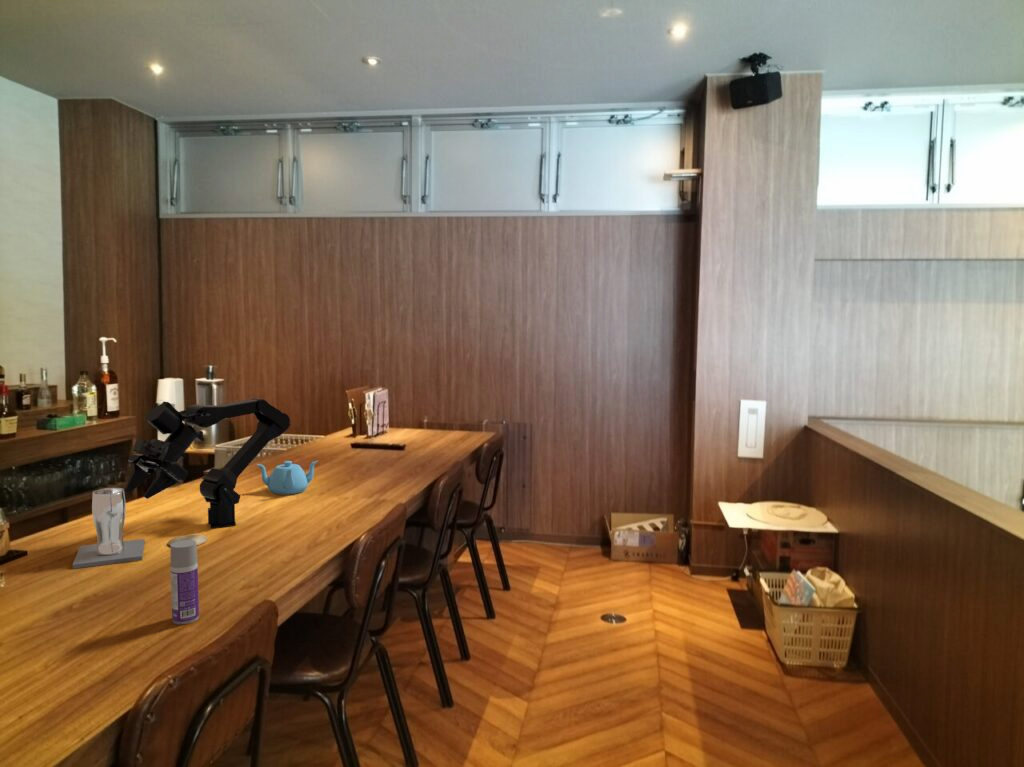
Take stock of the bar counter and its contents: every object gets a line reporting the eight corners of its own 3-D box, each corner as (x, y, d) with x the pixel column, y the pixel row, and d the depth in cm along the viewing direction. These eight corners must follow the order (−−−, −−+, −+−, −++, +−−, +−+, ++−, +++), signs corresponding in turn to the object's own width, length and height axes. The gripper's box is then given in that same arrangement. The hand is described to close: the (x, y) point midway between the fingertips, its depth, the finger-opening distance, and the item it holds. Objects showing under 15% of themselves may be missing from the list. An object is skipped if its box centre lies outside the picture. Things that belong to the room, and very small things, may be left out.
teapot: (288, 484, 236) (287, 455, 235) (321, 489, 230) (321, 459, 229) (256, 493, 223) (255, 463, 222) (290, 499, 216) (289, 467, 215)
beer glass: (86, 554, 160) (84, 493, 159) (111, 545, 167) (108, 486, 165) (110, 557, 158) (108, 495, 157) (133, 548, 165) (131, 488, 163)
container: (203, 613, 131) (201, 539, 130) (192, 624, 127) (190, 547, 125) (179, 613, 131) (176, 539, 130) (167, 624, 127) (165, 547, 125)
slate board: (144, 542, 172) (144, 538, 172) (142, 560, 160) (142, 556, 160) (80, 549, 166) (80, 546, 166) (72, 568, 153) (72, 564, 153)
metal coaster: (206, 534, 179) (206, 533, 179) (207, 545, 171) (207, 543, 171) (168, 539, 175) (168, 537, 175) (168, 549, 167) (168, 547, 167)
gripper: (134, 423, 175) (91, 472, 167) (174, 429, 165) (130, 482, 157) (164, 447, 182) (125, 496, 174) (204, 455, 172) (165, 507, 164)
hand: (135, 495), depth 167 cm, fingers open, 9 cm apart
